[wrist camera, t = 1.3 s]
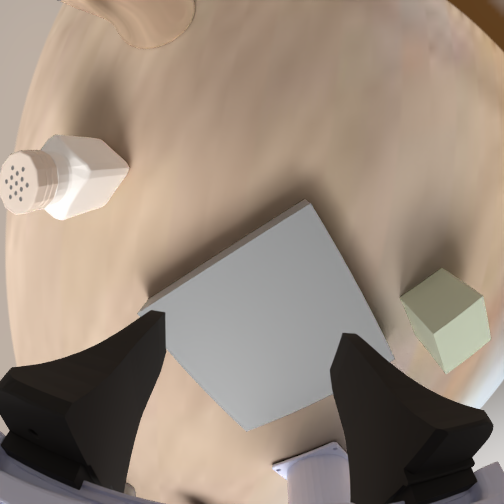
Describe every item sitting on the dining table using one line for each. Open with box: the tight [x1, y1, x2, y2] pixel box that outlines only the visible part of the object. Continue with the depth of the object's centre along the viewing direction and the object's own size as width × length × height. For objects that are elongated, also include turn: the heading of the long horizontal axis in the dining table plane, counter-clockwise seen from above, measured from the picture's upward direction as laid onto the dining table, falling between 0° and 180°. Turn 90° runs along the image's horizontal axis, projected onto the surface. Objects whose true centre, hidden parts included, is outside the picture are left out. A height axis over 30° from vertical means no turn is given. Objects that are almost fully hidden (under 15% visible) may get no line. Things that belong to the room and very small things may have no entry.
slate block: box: [137, 199, 395, 431], centre depth 22 cm, size 14×14×3 cm
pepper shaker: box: [0, 135, 129, 220], centre depth 16 cm, size 4×4×10 cm
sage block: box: [400, 268, 491, 374], centre depth 20 cm, size 4×4×6 cm
